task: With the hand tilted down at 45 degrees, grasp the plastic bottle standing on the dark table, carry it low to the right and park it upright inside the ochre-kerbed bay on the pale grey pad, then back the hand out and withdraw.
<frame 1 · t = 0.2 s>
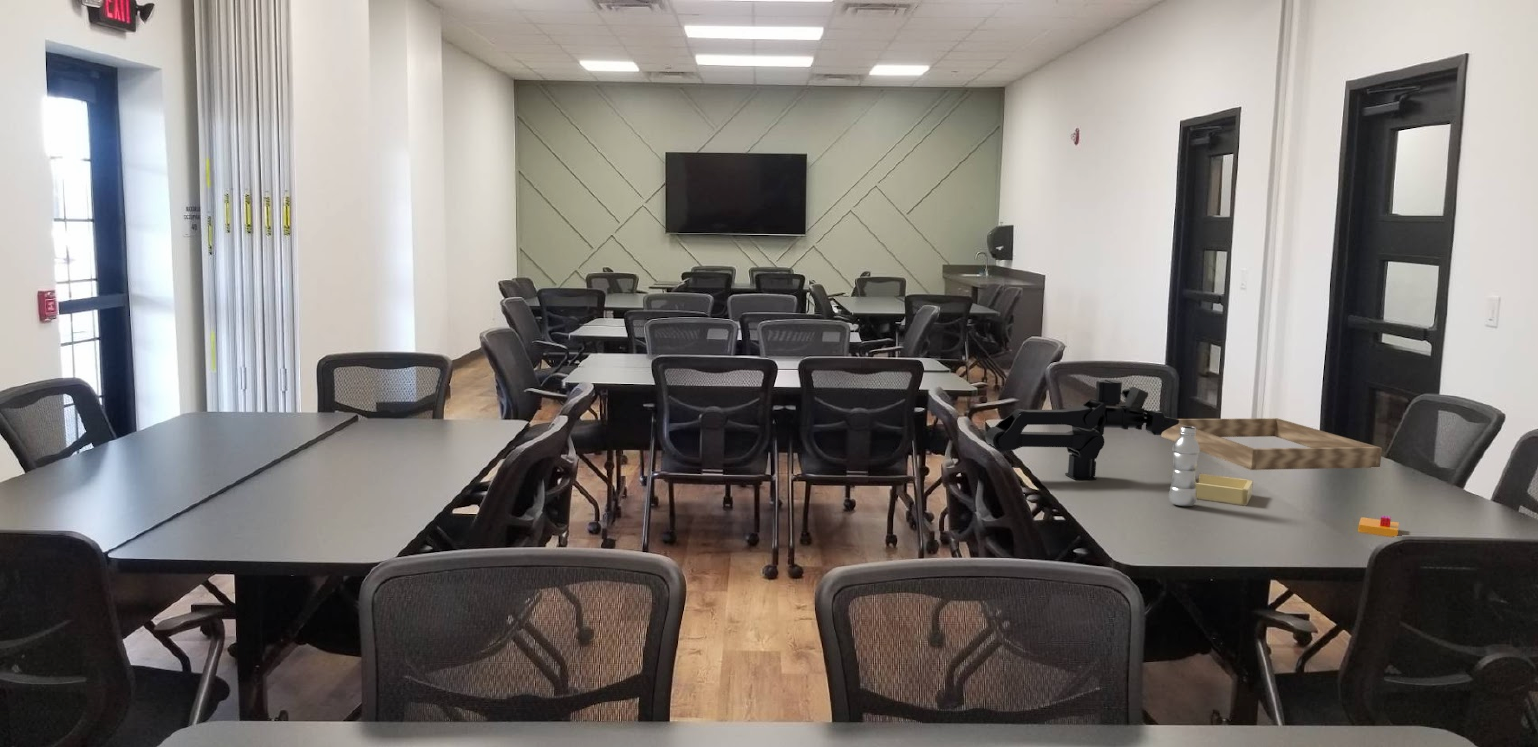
hand: (1170, 418, 306), 17 cm above the table, fingers open, 9 cm apart
plastic bottle: (1181, 506, 276), on the table
bay: (1219, 496, 287), on the table
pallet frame: (1264, 451, 348), on the table
orange block: (1378, 533, 258), on the table
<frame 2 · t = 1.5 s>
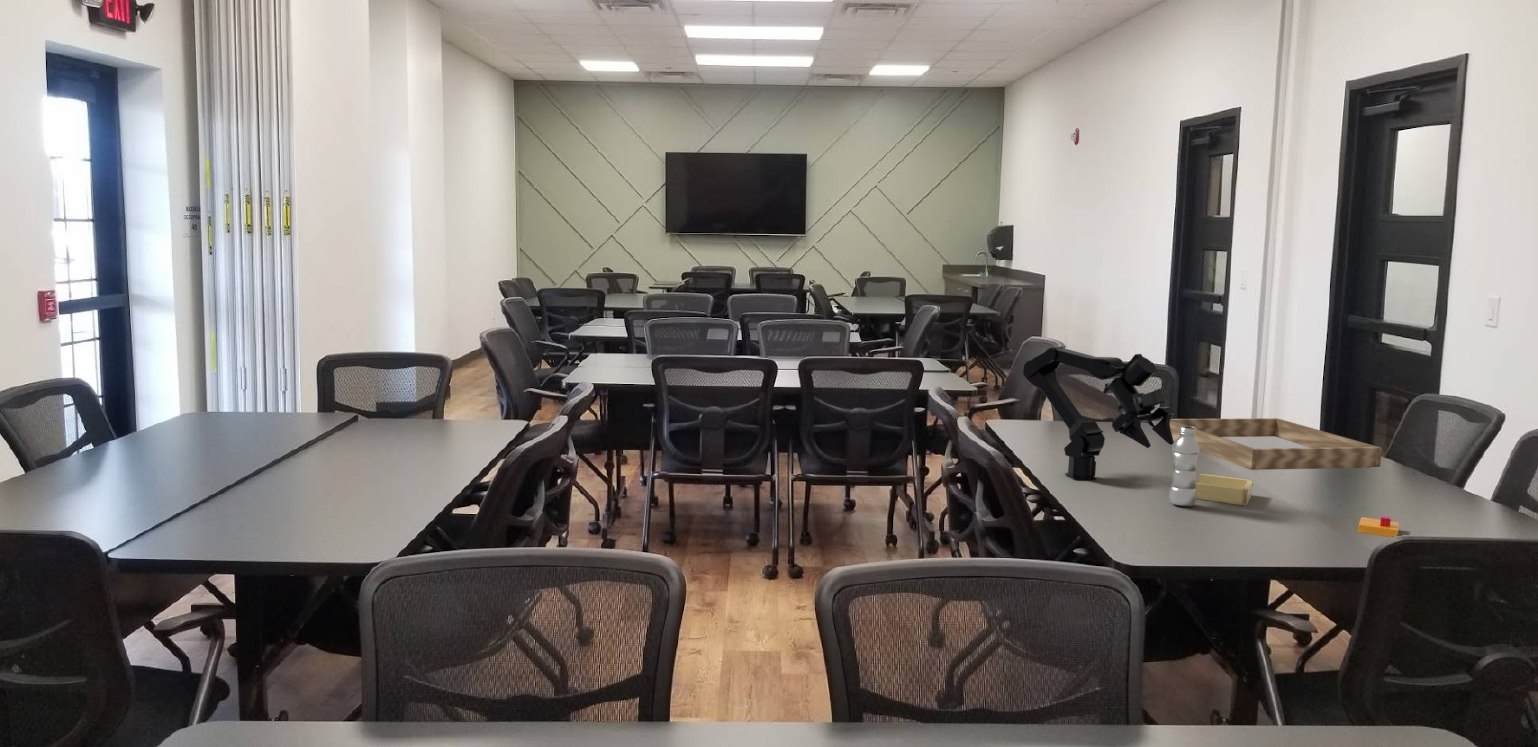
hand: (1160, 445, 282), 14 cm above the table, fingers open, 9 cm apart
nothing on the table moved.
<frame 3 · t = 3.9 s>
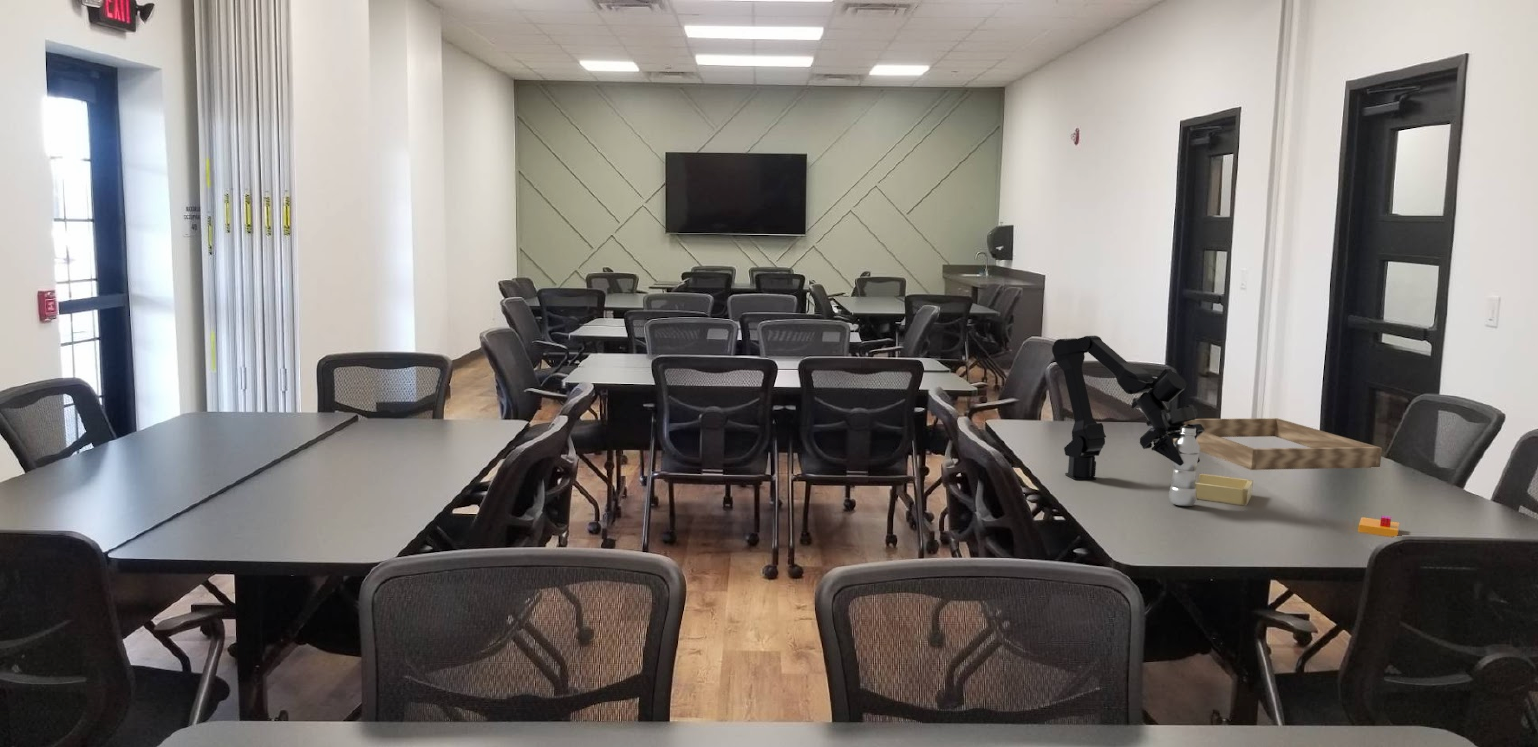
hand: (1190, 463, 274), 11 cm above the table, fingers closed on plastic bottle, 6 cm apart
plastic bottle: (1181, 506, 276), on the table, touching gripper
everything else where it was.
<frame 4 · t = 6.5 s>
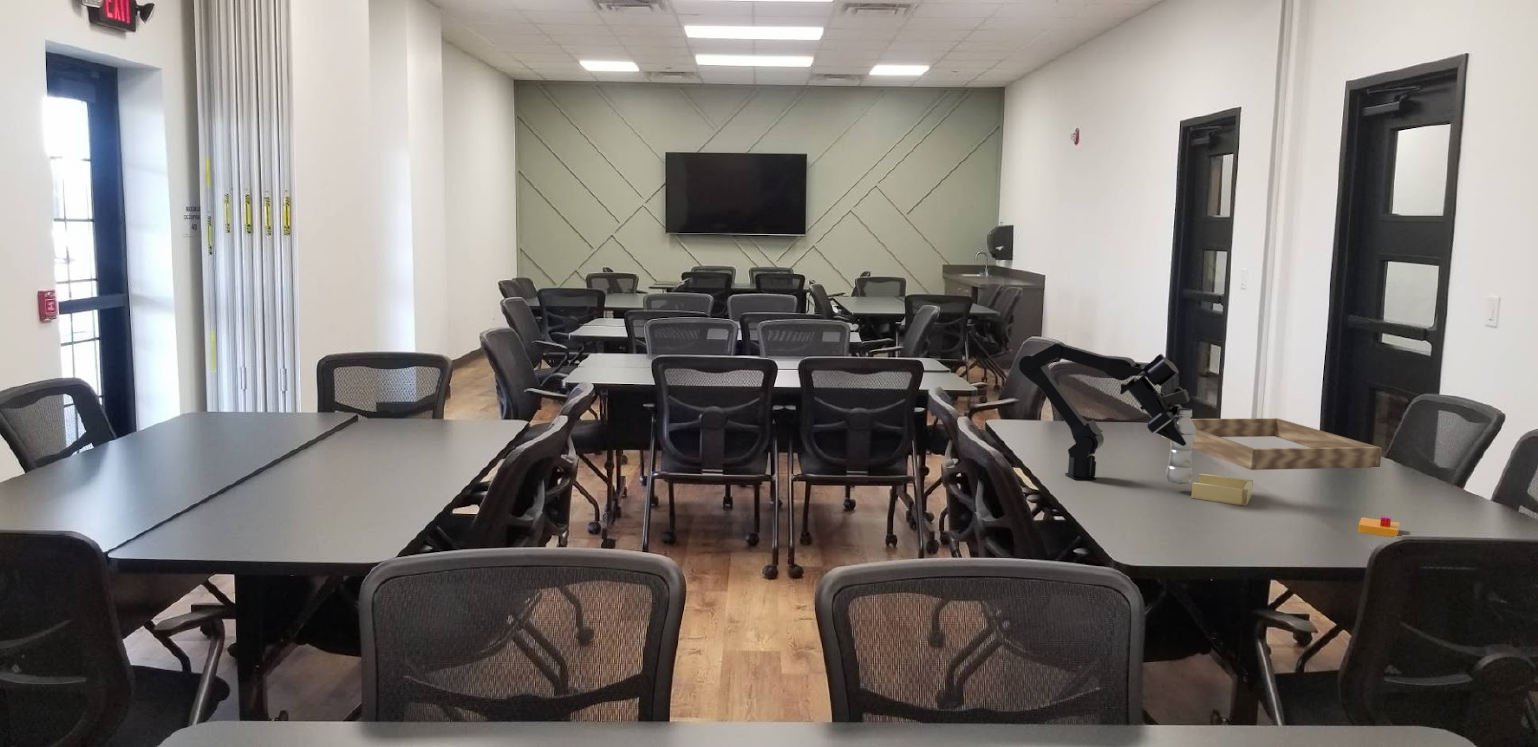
hand: (1187, 443, 289), 13 cm above the table, fingers closed on plastic bottle, 6 cm apart
plastic bottle: (1178, 484, 291), point 2 cm above the table, touching gripper
everything else where it was.
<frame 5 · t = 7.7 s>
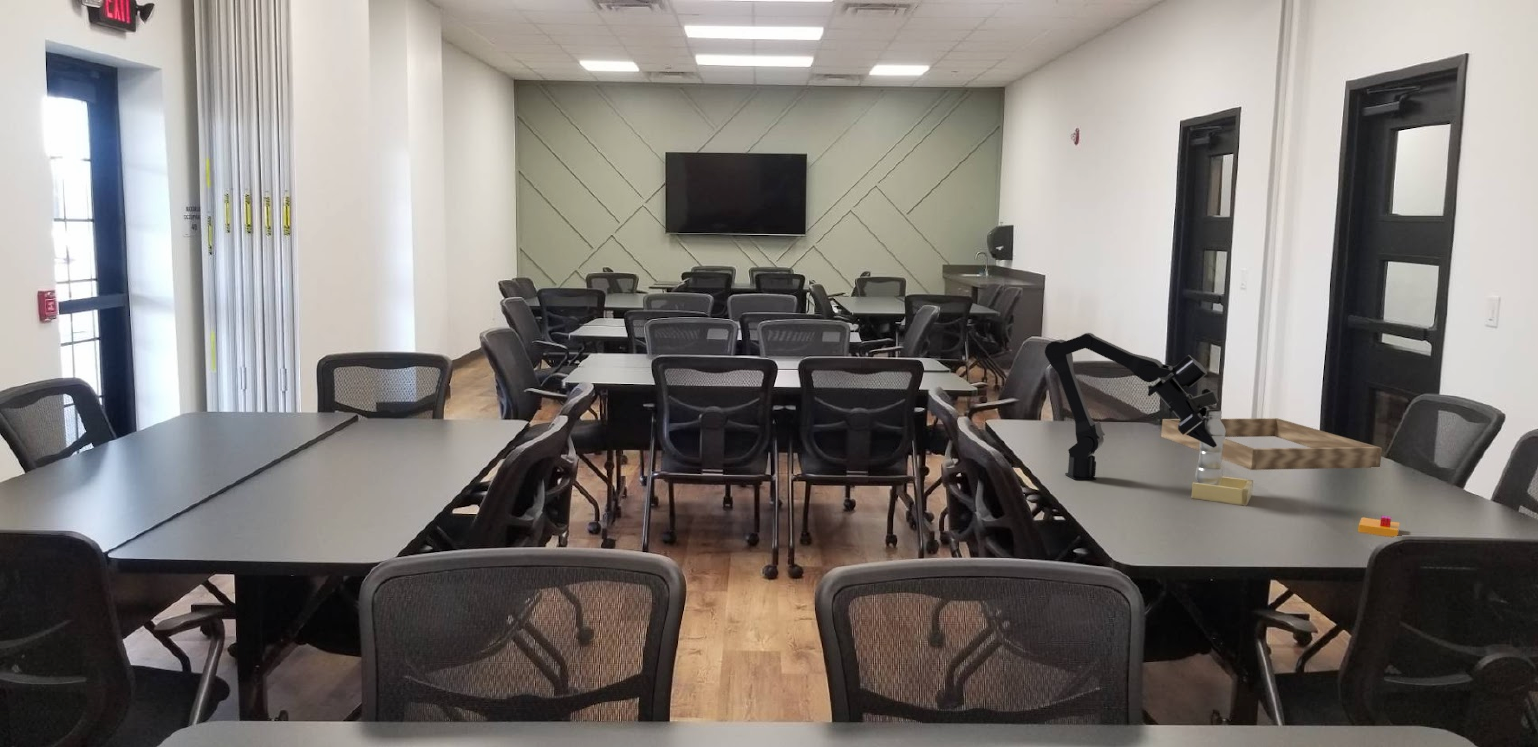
hand: (1217, 444, 286), 14 cm above the table, fingers closed on plastic bottle, 6 cm apart
plastic bottle: (1207, 486, 288), point 2 cm above the table, touching gripper
everything else where it was.
when the fingers open (12 cm above the table, at t = 9.0 s): plastic bottle stays where it is, resting on bay.
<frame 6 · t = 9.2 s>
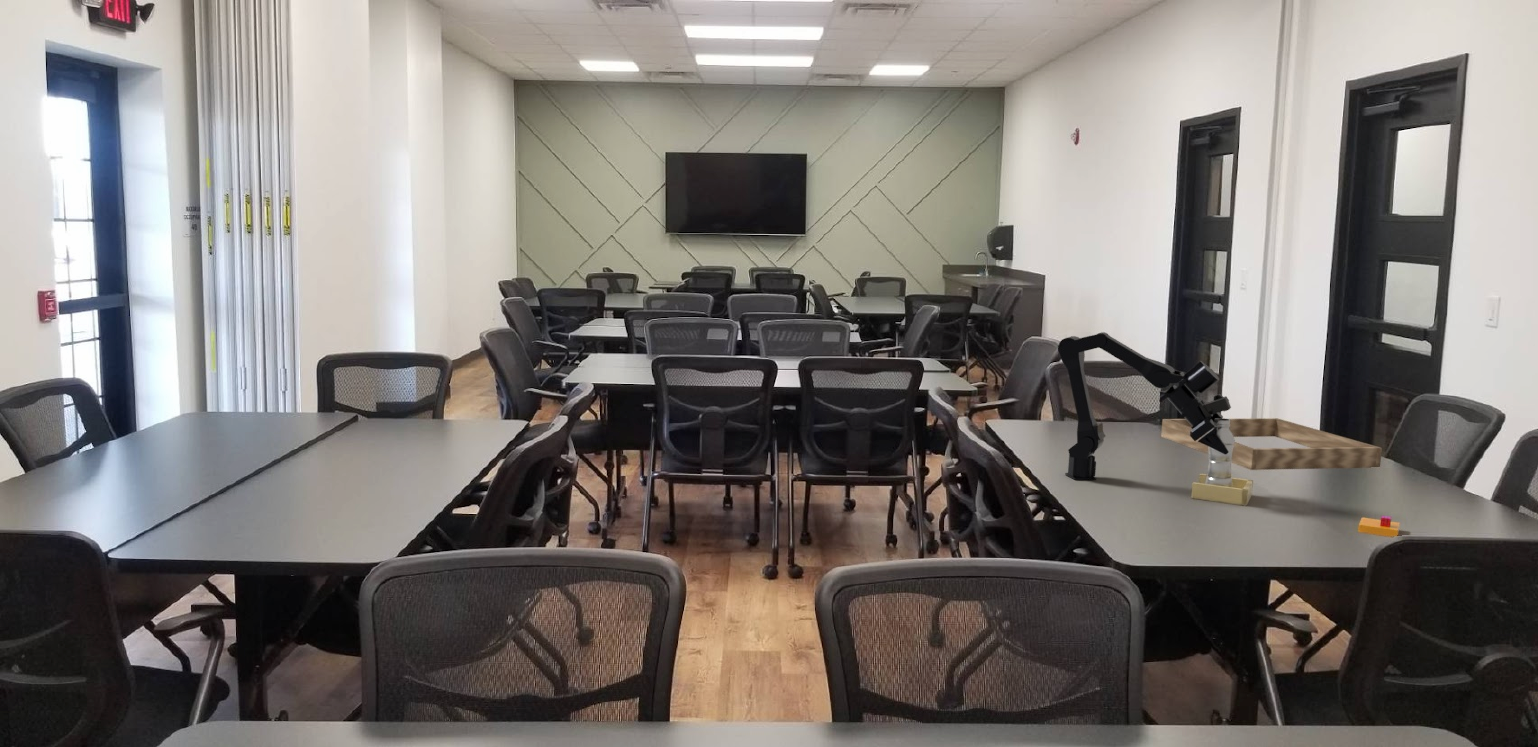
hand: (1229, 450, 285), 12 cm above the table, fingers open, 7 cm apart
plastic bottle: (1218, 495, 287), resting on bay
everything else where it was.
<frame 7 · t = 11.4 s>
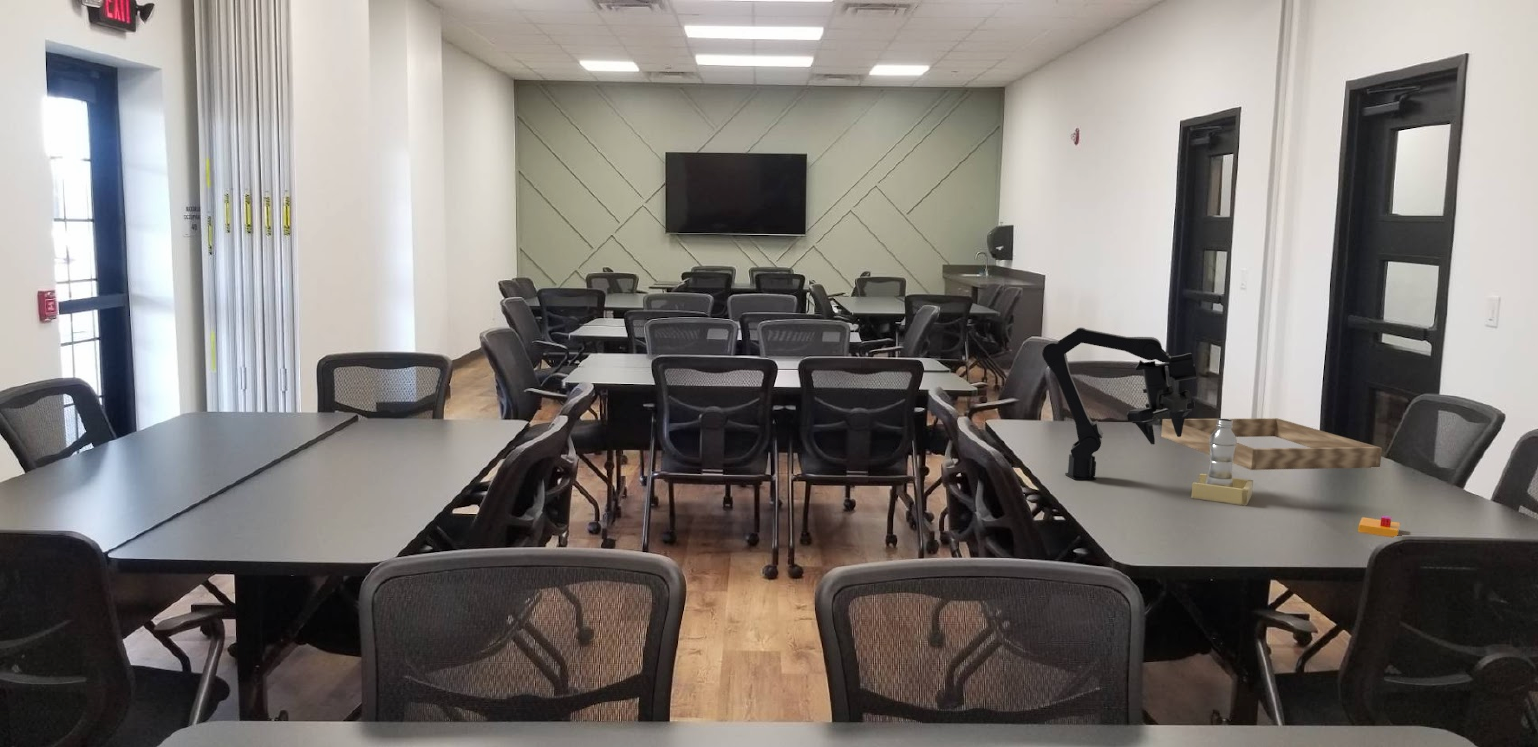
hand: (1166, 440, 296), 12 cm above the table, fingers open, 9 cm apart
nothing on the table moved.
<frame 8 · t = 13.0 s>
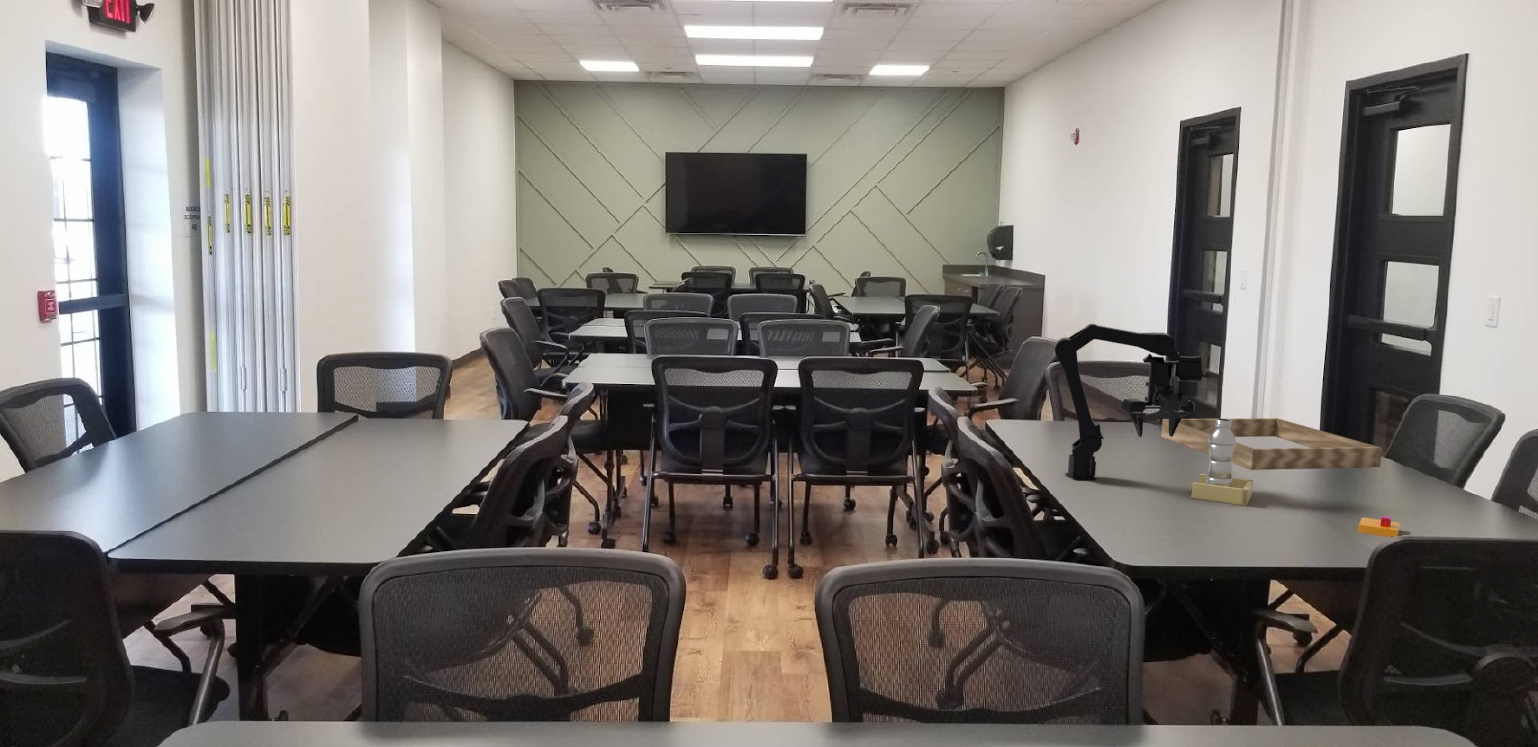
hand: (1155, 436, 298), 13 cm above the table, fingers open, 9 cm apart
nothing on the table moved.
at the end: plastic bottle 0.3 cm from the bay (horizontally); plastic bottle tilted 1°; the gripper is holding nothing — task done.
